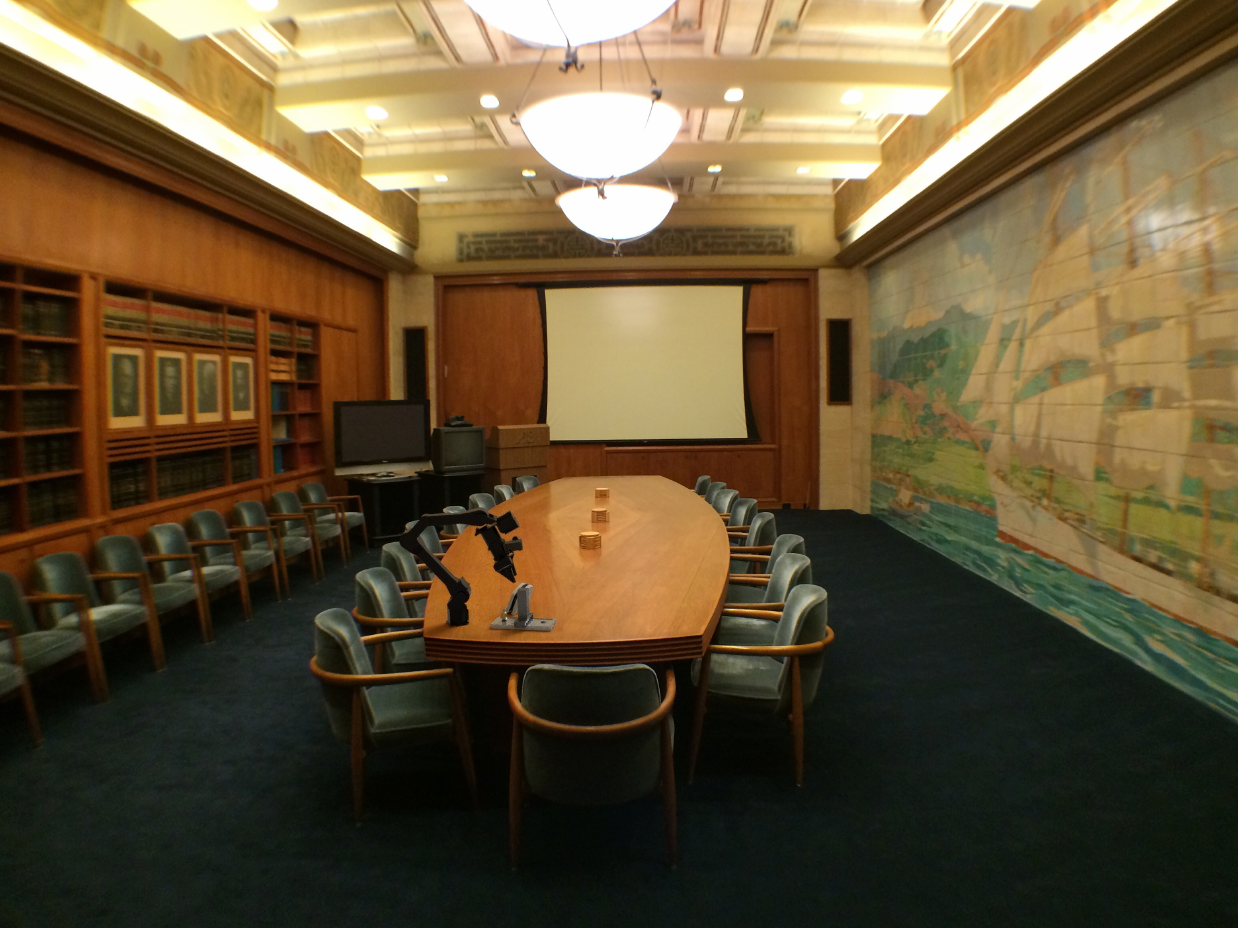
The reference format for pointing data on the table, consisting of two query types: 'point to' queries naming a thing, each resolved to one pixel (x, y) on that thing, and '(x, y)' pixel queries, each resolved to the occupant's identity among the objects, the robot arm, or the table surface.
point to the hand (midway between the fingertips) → (515, 579)
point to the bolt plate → (532, 623)
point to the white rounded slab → (513, 601)
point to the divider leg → (523, 608)
